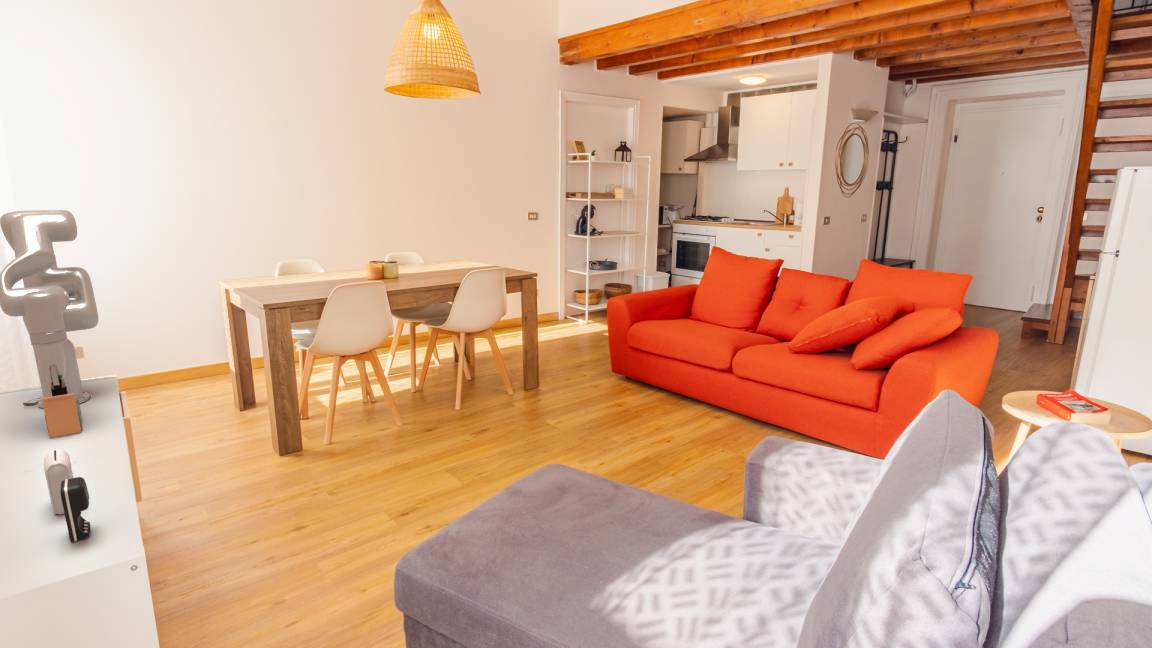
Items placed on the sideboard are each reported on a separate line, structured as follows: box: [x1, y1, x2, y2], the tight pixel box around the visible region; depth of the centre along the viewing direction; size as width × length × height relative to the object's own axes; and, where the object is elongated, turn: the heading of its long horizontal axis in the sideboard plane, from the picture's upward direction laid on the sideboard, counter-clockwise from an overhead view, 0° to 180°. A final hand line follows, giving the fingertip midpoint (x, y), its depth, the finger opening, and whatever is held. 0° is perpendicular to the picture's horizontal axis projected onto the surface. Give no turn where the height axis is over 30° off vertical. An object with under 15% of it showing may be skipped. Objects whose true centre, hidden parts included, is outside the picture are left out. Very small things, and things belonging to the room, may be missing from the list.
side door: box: [41, 393, 82, 440], centre depth 166 cm, size 1×7×12 cm, turn 128°
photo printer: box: [43, 447, 74, 515], centre depth 134 cm, size 10×4×12 cm, turn 39°
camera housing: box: [44, 400, 83, 438], centre depth 171 cm, size 10×7×8 cm
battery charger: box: [60, 476, 91, 543], centre depth 124 cm, size 7×4×11 cm, turn 37°
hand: (61, 401), depth 171 cm, fingers closed
